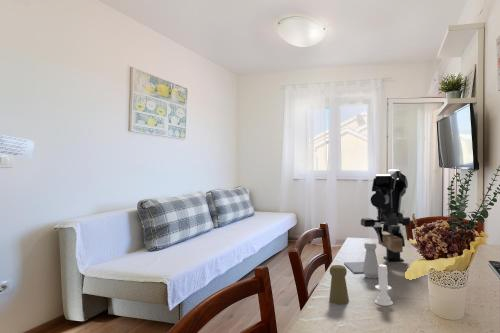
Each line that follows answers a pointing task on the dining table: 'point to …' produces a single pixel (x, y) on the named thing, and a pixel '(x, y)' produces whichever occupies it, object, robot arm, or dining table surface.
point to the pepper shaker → (338, 285)
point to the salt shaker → (370, 261)
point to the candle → (383, 287)
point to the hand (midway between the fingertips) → (385, 242)
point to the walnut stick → (391, 242)
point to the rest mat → (355, 266)
